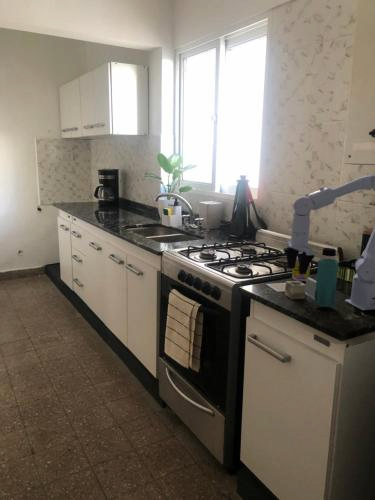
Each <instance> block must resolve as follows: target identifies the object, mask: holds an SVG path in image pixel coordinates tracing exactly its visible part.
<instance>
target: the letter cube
mask: <svg viewBox="0 0 375 500" xmlns="http://www.w3.org/2000/svg"><path fill="white" fill-rule="evenodd" d="M285 283H286V286H285V292H284V295H285V297H286V296H287V298H289V299H290V300H299V299H300V300H301V299H302V300H303V299H305V298H306V295H305V290H306V283H303V281H296V280H291V281H290V280H288V281H285Z"/></svg>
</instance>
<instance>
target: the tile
mask: <svg viewBox="0 0 375 500" xmlns="http://www.w3.org/2000/svg"><path fill="white" fill-rule="evenodd" d="M265 284H266V285H265V286H267V287H269V288H270V289H272V291H274V292H276V293H285V286H286V282H278V283H265Z"/></svg>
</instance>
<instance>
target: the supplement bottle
mask: <svg viewBox="0 0 375 500" xmlns="http://www.w3.org/2000/svg"><path fill="white" fill-rule="evenodd" d="M302 253H303V252H300V251H299V253H298V254H302ZM311 263H312V261H311V262H310V264H309V267H308V269H307V272H306V274H300V273H299V260H298V256H297V259H296V264H295V268H292V275H291V279H293V281H300V282H306V279H307V278H310V270H311Z"/></svg>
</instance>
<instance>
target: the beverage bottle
mask: <svg viewBox="0 0 375 500" xmlns="http://www.w3.org/2000/svg"><path fill="white" fill-rule="evenodd" d="M321 255H322V256H325V257H322V258H320V259H319V260H318V261H317V271H316V272H317V273H316V280H315V281H316V285H315V286H316V290H315V296H314V297H315V299H314V300H315V301H314V300H313V301H314V304H315V305H317V306H319V307H322V308H323V307H324V308H332V307H334V306H335V301H336V293H337V291H336V290H337V282H338V270H339V262H338V261H337V260H336V259H335V258H332V257H336V256H337V250H336V248H332V247H324V248H323V249H322V252H321Z"/></svg>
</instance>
